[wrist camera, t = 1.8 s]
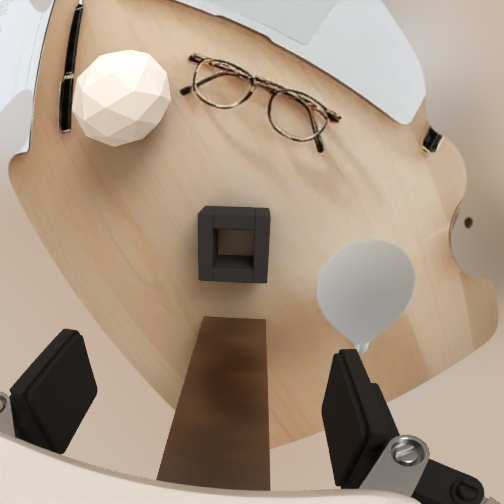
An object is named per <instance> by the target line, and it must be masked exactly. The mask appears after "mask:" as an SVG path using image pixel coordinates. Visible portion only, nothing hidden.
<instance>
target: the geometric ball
mask: <svg viewBox="0 0 504 504" xmlns="http://www.w3.org/2000/svg"><path fill="white" fill-rule="evenodd" d="M170 101H171V97H170V90H169V84H168V77H167V73H166V72H165V71H164V70H163V69H162V67H161V66H160V65H159V64H158V63H157V62H156V61H155V60H154V59H153V58H152V57H151V56H150V55H149V54H147V53H143V52H138V51H133V50H126V51H119V52H114V53H109V54H105V55H100V56H99V57H98V58H97V59H96V60H95V61H94V62H93V63H92V64H91V65H90V66H89V67H88V68H87V69H86V70H85V71H84V72H83V73H82V74H81V75H80V76H79V77H78V78H77V82H76V87H75V93H74V99H73V106H72V111H73V113H74V115H75V117H76V119H77V120H78V122H79V124H80V126H81V127H82V129H83V131H84V133H85V135H86V136H87V137H90V138H92V139H95V140H97V141H100V142H103V143H105V144H108V145H110V146H113V147H116V146H119V145H123V144H126V143H130V142H133V141H137V140H141V139H144V138H145V137H146V136H147V135H148V134H149V133H150V132H151V131H152V130H153V129H154V128H155V127H156V126H157V125H158V124H159V122H160V121H161V119H162V118H163V116H164V114H165V111H166V109H167V107H168V105H169V103H170Z"/></svg>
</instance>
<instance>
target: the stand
mask: <svg viewBox="0 0 504 504" xmlns="http://www.w3.org/2000/svg"><path fill="white" fill-rule="evenodd" d="M156 480H158V481H164V482H170V483H176V484H183V485H190V486H199V487H208V488H218V489H231V490H250V491H270V453H269V411H268V376H267V344H266V320H262V319H238V318H219V317H204V318H203V321H202V325H201V328H200V331H199V334H198V337H197V341H196V344H195V347H194V351H193V354H192V357H191V361H190V364H189V367H188V371H187V374H186V377H185V381H184V384H183V387H182V391H181V394H180V398H179V401H178V404H177V408H176V411H175V415H174V418H173V422H172V425H171V429H170V432H169V436H168V439H167V443H166V447H165V450H164V454H163V457H162V461H161V465H160V468H159V472H158V476H157V479H156Z"/></svg>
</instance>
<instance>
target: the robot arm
mask: <svg viewBox="0 0 504 504" xmlns="http://www.w3.org/2000/svg"><path fill="white" fill-rule="evenodd" d="M10 392H11V395H10V397H8V395H7V394H5V393H3V392H0V504H500V503H499V502H497V501H496V500H495V499H493V498H492V497H490V498H489V499H487V498H486V497H484V488H483V486H482V484H481V483H480V482H479V481H478V479H476V478H474V477H472V476H470V475H467V474H465V473H462V472H460V471H457V470H455V469H452V468H450V467H448V466H445V465H443V464H440V463H438V462H436V461H434V460H431V459H429V455H430V453H429V448H428V447H427V445H426V443H424V442H423V441H422V440H421V439H419V438H417V437H415V436H411V435H401V436H400V434H399V432H398V430H397V427H396V425H395V423H394V420H393V418H392V415H391V413H390V411H389V408H388V406H387V404H386V401H385V399H384V397H383V394H382V392H381V390H380V388H379V386H378V384H376V383H371V382H370V380H369V377H368V375H367V373H366V370H365V368H364V366H363V363H362V361H361V359H360V356H359V354H358V352H357V350H356V349H341V350H340V351H339V353H337V354H334V356H333V361H332V365H331V370H330V374H329V379H328V383H327V387H326V392H325V396H324V400H323V404H322V418H323V423H324V428H325V433H326V438H327V443H328V447H329V453H330V459H331V464H332V469H333V474H334V480H335V484H336V486H341V489H336V490H335V489H333V490H310V491H250V490H231V489H218V488H208V487H199V486H190V485H183V484H176V483H170V482H164V481H158V480H153V479H147V478H143V477H138V476H133V475H128V474H125V473H120V472H116V471H112V470H109V469H104V468H101V467H97V466H94V465H91V464H87V463H84V462H81V461H78V460H75V459H72V458H69V457H66V456H63V455H61V454H63V453H64V452H65V451H66V449H67V447H68V445H69V443H70V442H71V439H72V438H73V436H74V434H75V432H76V430H77V429H78V427H79V425H80V423H81V421H82V419H83V418H84V416H85V414H86V412H87V411H88V409H89V407H90V405H91V404H92V402H93V400H94V398H95V397H96V395H97V385H96V382H95V379H94V375H93V372H92V369H91V365H90V362H89V358H88V354H87V351H86V347H85V343H84V339H83V336H82V335H80V333H79V332H78V331H77V330H71V329H63V330H62V331H61V332H60V333H59V334H58V335H57V336H56V337H55V339H54V340H53V341H52V342H51V343H50V344H49V345H48V346H47V348H45V350H44V351H43V352H42V353H41V354H40V355H39V356H38V357H37V359H36V360H35V361H34V362H33V363H32V364H31V365H30V366H29V368H28V369H27V370H26V371H25V372H24V373H23V374H22V376H21V377H20V378H19V379H18V380H17V382H16V383H15V384H14V385H13V386H12V387H11V389H10Z"/></svg>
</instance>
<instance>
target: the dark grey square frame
mask: <svg viewBox="0 0 504 504" xmlns="http://www.w3.org/2000/svg"><path fill="white" fill-rule="evenodd" d="M270 218H271V217H270V211H269V208H253V207H225V206H219V207H218V206H205V207H204V208H203V209H202V210H201V211H200V212H199V213H198V266H199V280H201V281H220V282H242V283H267V273H268V256H269V237H270ZM218 229H242V230H254V229H255V235H254V256H239V255H218Z"/></svg>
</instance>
